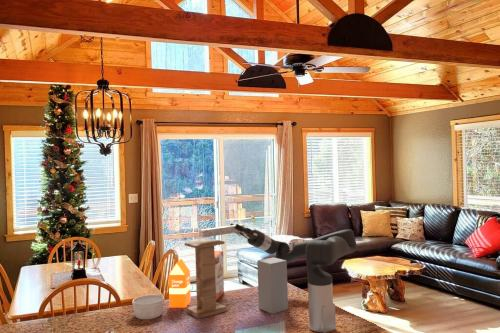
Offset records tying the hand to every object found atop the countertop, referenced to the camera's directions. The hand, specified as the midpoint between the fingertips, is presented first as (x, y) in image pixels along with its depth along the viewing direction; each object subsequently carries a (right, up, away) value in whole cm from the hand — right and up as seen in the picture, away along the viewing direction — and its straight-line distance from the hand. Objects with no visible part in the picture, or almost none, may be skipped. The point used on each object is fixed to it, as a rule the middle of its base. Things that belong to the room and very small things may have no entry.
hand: (233, 225), depth 196 cm
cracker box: (-9, -36, +12) cm, 39 cm away
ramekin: (-36, -37, -11) cm, 52 cm away
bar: (-5, -3, -4) cm, 7 cm away
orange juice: (-24, -36, +3) cm, 44 cm away
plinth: (+18, -35, -8) cm, 40 cm away
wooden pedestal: (-11, -36, -9) cm, 39 cm away
